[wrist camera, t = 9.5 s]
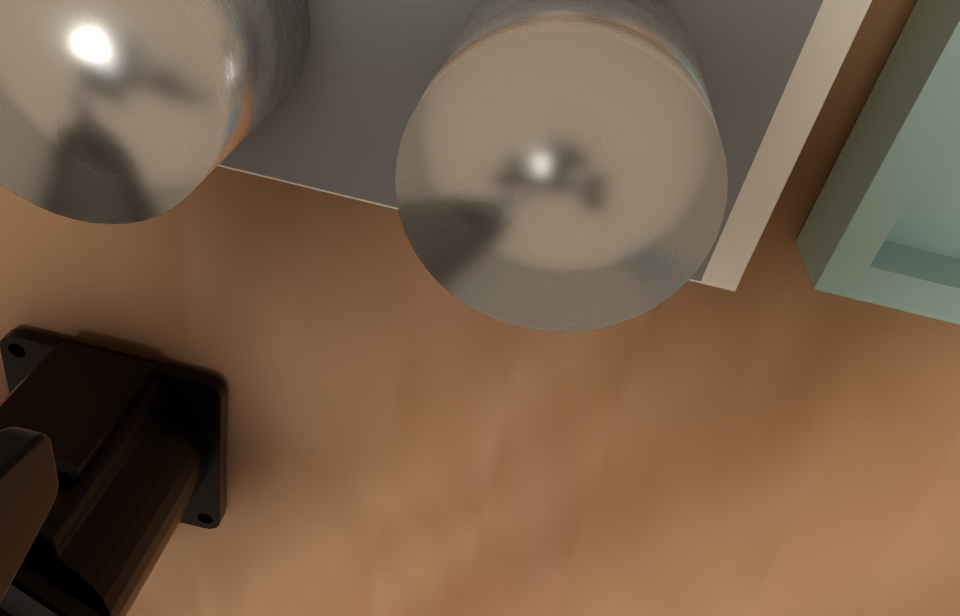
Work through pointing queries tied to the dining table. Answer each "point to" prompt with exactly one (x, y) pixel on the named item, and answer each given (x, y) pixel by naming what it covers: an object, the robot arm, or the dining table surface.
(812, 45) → the scale
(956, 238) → the tray
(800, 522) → the dining table surface
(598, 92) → the cylinder
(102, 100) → the cylinder
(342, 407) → the dining table surface
